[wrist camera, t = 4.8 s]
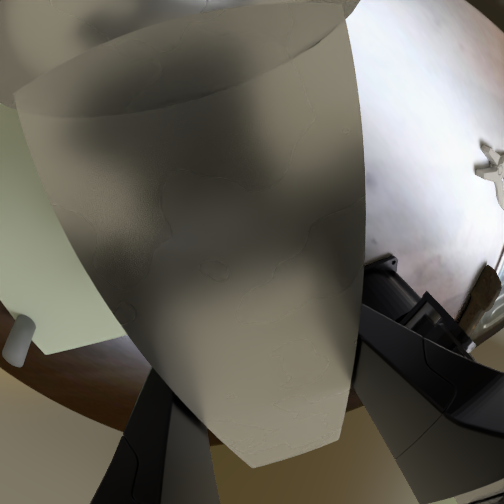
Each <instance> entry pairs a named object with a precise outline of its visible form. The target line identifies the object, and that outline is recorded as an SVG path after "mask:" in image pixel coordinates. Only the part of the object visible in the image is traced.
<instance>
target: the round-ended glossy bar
mask: <svg viewBox="0 0 504 504" xmlns="http://www.w3.org/2000/svg"><path fill="white" fill-rule="evenodd" d="M359 1H360V0H0V103H1V104H3V105H5V106H7V107H9V108H13V109H16V110H17V111H18V115H19V119H20V122H21V125H22V129H23V132H24V135H25V138H26V141H27V144H28V147H29V150H30V153H31V156H32V159H33V161H34V164H35V167H36V169H37V172H38V175H39V177H40V180H41V182H42V184H43V187H44V189H45V192H46V194H47V196H48V198H49V201H50V203H51V205H52V207H53V209H54V212H55V214H56V216H57V218H58V220H59V222H60V224H61V226H62V228H63V230H64V232H65V234H66V236H67V238H68V240H69V242H70V244H71V246H72V247H73V249H74V251H75V253H76V255H77V257H78V258H79V260H80V262H81V264H82V265H83V267H84V269H85V271H86V272H87V274H88V276H89V277H90V279H91V281H92V282H93V284H94V285H95V287H96V289H97V290H98V292H99V293H100V295H101V297H102V298H103V300H104V301H105V303H106V304H107V306H108V307H109V309H110V310H111V312H112V313H113V315H114V316H115V318H116V319H117V321H118V322H119V323H120V325H121V326H122V328H123V329H124V330H125V332H126V333H127V335H128V336H129V337H130V339H131V340H132V341H133V343H134V344H135V345H136V347H137V348H138V349H139V351H140V352H141V353H142V354H143V356H144V357H145V358H146V359H147V361H148V362H149V363H150V364H151V366H152V367H153V368H154V369H155V371H156V372H157V373H158V374H159V375H160V377H161V378H162V379H163V380H164V381H165V383H166V384H167V385H168V386H169V387H170V388H171V389H172V391H173V392H174V393H175V394H176V395H177V396H178V397H179V398H180V399H181V401H182V402H183V403H184V404H185V405H186V406H187V407H188V408H189V409H190V410H191V411H192V412H193V413H194V414H195V415H196V416H197V417H198V419H199V420H200V421H201V422H202V423H203V424H204V425H205V426H206V427H207V428H208V429H209V430H211V431H212V432H213V433H214V434H215V435H216V436H217V437H218V438H219V439H220V440H221V441H222V442H223V443H224V444H225V445H226V446H228V447H229V448H230V449H231V450H232V451H233V452H234V453H235V454H237V455H238V456H239V457H240V458H241V459H242V460H243V461H245V462H246V463H247V464H248V465H250V466H251V467H252V468H255V467H259V466H263V465H266V464H270V463H274V462H277V461H281V460H284V459H287V458H290V457H293V456H296V455H299V454H302V453H305V452H308V451H311V450H314V449H316V448H319V447H322V446H324V445H327V444H329V443H332V442H334V441H337V440H339V436H340V432H341V428H342V423H343V419H344V414H345V410H346V405H347V400H348V395H349V390H350V384H351V378H352V372H353V366H354V360H355V353H356V346H357V338H358V330H359V321H360V312H361V302H362V290H363V276H364V257H365V221H366V203H365V166H364V148H363V135H362V123H361V113H360V104H359V96H358V88H357V81H356V74H355V68H354V62H353V56H352V50H351V45H350V40H349V35H348V30H347V25H346V21H345V19H346V18H347V17H348V16H349V15H350V14H351V13H352V12H353V10H354V9H355V7H356V6H357V4H358V3H359Z"/></svg>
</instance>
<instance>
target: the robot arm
mask: <svg viewBox="0 0 504 504" xmlns="http://www.w3.org/2000/svg"><path fill="white" fill-rule="evenodd" d="M397 263H398V259H397V258H396V257H395V256H390V257H388V258H385V259H383V260H380V261H378V262H375V263H373V264H370V265H368V266H365V267H364V276H363V290H362V302H361V312H360V321H359V330H358V338H357V346H356V353H355V360H354V366H353V372H352V378H351V384H352V386H353V387H354V389H355V391H356V393H357V394H358V396H359V398H360V399H361V401H362V403H363V405H364V406H365V408H366V410H367V411H368V413H369V415H370V416H371V418H372V420H373V422H374V424H375V425H376V427H377V429H378V430H379V432H380V434H381V436H382V437H383V439H384V441H385V443H386V444H387V446H388V448H389V450H390V452H391V453H392V455H393V457H394V458H395V459H396V462H397V464H398V466H399V468H400V469H401V471H402V473H403V475H404V476H405V478H406V480H407V482H408V484H409V486H410V487H411V489H412V491H413V493H414V495H415V496H416V498H417V500H418V502H419V503H420V504H428V503H432V502H436V501H440V500H444V499H447V498H451V497H454V498H455V499H456V501H457V503H458V504H504V372H500V371H497V370H495V369H492V368H490V367H487V366H484V365H482V364H480V363H477V361H476V360H475V359H474V357H473V356H472V355H471V354H470V352H471V351H472V350H473V349H474V348H475V347H476V345H475V344H474V342H473V341H472V340H471V339H470V337H469V336H468V335H467V334H466V333H465V332H464V330H463V329H462V328H461V327H460V326H459V325H458V324H457V322H456V321H455V320H454V319H453V318H452V317H451V316H450V315H449V314H448V313H447V312H446V310H445V309H444V308H443V307H442V306H441V305H440V304H439V303H438V302H437V301H436V300H435V299H434V298H433V297H432V296H431V295H430V294H429V293H428V292H427V291H426V292H425V293H424V294H423V295H422V296H423V297H422V298H420V297H419V296H418V295H417V293H416V292H415V291H414V290H413V289H412V288H411V287H410V286H409V285H408V284H407V283H406V282H405V281H404V280H403V279H402V278H401V277H400V276H399V275H398V274H397V273H396V271H397ZM440 317H441V318H440ZM439 318H440V319H439ZM438 319H439V320H438ZM123 435H124V436H122V437H121V440H120V442H119V445H118V447H117V450H116V452H115V454H114V457H113V459H112V461H111V463H110V466H109V467H108V469H107V472H106V474H105V476H104V478H103V480H102V482H101V483H100V485H99V487H98V489H97V491H96V493H95V495H94V497H93V499H92V501H91V503H90V504H220V500H219V495H218V490H217V486H216V480H215V475H214V470H213V464H212V458H211V452H210V446H209V440H208V434H207V427H206V426H205V425H204V424H203V423H202V422H201V421H200V420H199V419H198V417H197V416H196V415H195V414H194V413H193V412H192V411H191V410H190V409H189V408H188V407H187V406H186V405H185V404H184V403H183V402H182V401H181V399H180V398H179V397H178V396H177V395H176V394H175V393H174V392H173V391H172V389H171V388H170V387H169V386H168V385H167V384H166V383H165V381H164V380H163V379H162V378H161V377H160V375H159V374H158V373H157V372H156V371H155V369H154V368H153V367H151V369H150V372H149V374H148V376H147V378H146V381H145V383H144V385H143V387H142V390H141V392H140V394H139V397H138V399H137V401H136V404H135V406H134V408H133V411H132V413H131V416H130V418H129V420H128V423H127V425H126V428H125V430H124V433H123Z"/></svg>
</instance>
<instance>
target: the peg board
mask: <svg viewBox="0 0 504 504" xmlns="http://www.w3.org/2000/svg"><path fill="white" fill-rule="evenodd" d="M0 300H1V302H2V303H3V304H4V306H5V307H6V308H7V310H8V311H9V312H10V314H11V315H12V316H13V318H14V319H15V320H16V321H15V323H14V325H13V327H12V330H11V332H10V334H9V336H8V339H7V341H6V344H5V346H4V349H3V351H2V355H3V357H4V358H5V360H6V361H7V362H9V363H10V364H12V365H14V366H16V367H21V366H23V363H24V360H25V357H26V354H27V351H28V348H29V345H30V343H31V340H32V341H33V342H34V343H35V344H36V345H37V346H38V347H39V348H40V349H41V350H42V352H43V353H44V354H45V355H47V354H52V353H56V352H61V351H65V350H69V349H73V348H78V347H82V346H86V345H90V344H94V343H98V342H102V341H106V340H109V339H113V338H117V337H121V336H125V335H127V333H126V332H125V330H124V329H123V328H122V326H121V325H120V323H119V322H118V321H117V319H116V318H115V316H114V315H113V313H112V312H111V310H110V309H109V307H108V306H107V304H106V303H105V301H104V300H103V298H102V297H101V295H100V293H99V292H98V290H97V289H96V287H95V285H94V284H93V282H92V281H91V279H90V277H89V276H88V274H87V272H86V271H85V269H84V267H83V265H82V264H81V262H80V260H79V258H78V257H77V255H76V253H75V251H74V249H73V247H72V246H71V244H70V242H69V240H68V238H67V236H66V234H65V232H64V230H63V228H62V226H61V224H60V222H59V220H58V218H57V216H56V214H55V212H54V209H53V207H52V205H51V203H50V201H49V198H48V196H47V194H46V192H45V189H44V187H43V184H42V182H41V180H40V177H39V175H38V172H37V169H36V167H35V164H34V161H33V159H32V156H31V153H30V150H29V147H28V144H27V141H26V138H25V135H24V132H23V129H22V125H21V122H20V119H19V115H18V111H17V110H16V109H13V108H9V107H7V106H5V105H3V104H1V103H0Z"/></svg>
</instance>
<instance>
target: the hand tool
mask: <svg viewBox="0 0 504 504" xmlns="http://www.w3.org/2000/svg"><path fill="white" fill-rule="evenodd" d="M501 288H502V287H501V281H500V279H499V277H498V275H497V273H496V271H495V270H494V269H493V268H492V267H490V266H489V265H487V266H486V268H485V269H484V270H483V272H482V274H481V275H480V277H479V279H478V281H477V283H476V285H475V287H474V288H473V290H472V292H471V300H470V303H469V305H468V307H467V309H466V311H465V313H464V314H463V316H462V318H461V320H460V322H459V324H458V325H459V326H460V327H461V328H462V329H463V330H464V332H465V333H466V334H467V335H468V336H469V337H471V335H472V333H473V331H474V330H475V328H476V326H477V324H478V323H479V321H480V319H481V318H482V316H483V315H484V313H485V312H487V311H489V310H490V309H491V308H492V306H493V305H494V302H495V300H496V299H497V297H498V296H499V294H500V291H501Z"/></svg>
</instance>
